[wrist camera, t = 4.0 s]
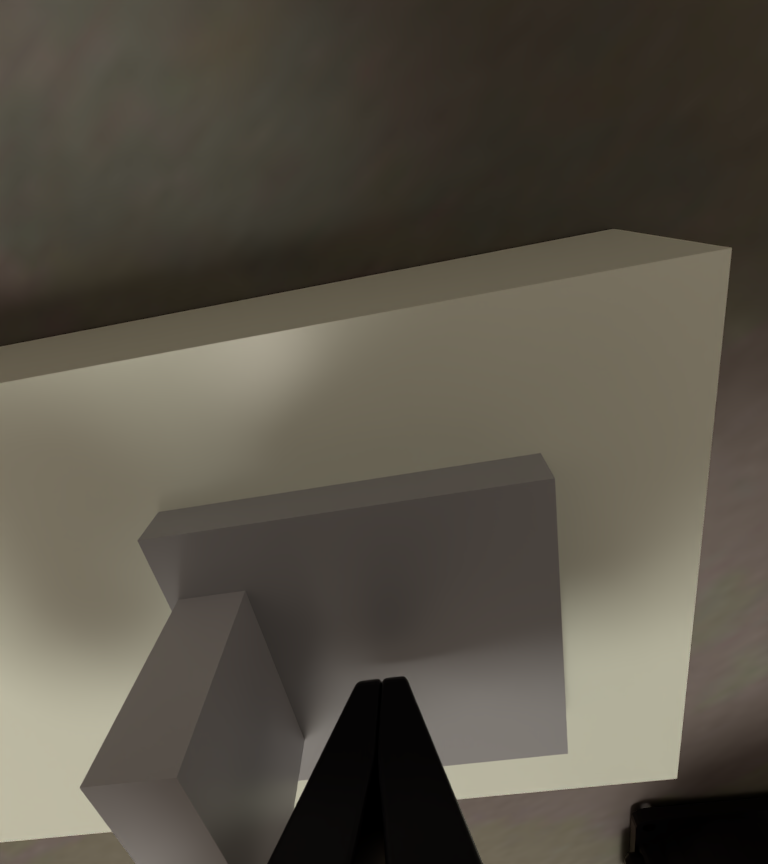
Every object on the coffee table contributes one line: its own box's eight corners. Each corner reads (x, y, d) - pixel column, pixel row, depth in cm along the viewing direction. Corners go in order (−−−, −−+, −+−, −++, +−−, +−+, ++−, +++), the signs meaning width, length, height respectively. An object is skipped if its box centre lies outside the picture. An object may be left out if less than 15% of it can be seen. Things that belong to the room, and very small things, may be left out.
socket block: (613, 228, 10) (732, 247, 7) (610, 641, 15) (677, 778, 12) (-156, 376, 12) (-391, 455, 8) (68, 706, 17) (-19, 844, 13)
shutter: (540, 452, 8) (649, 641, 5) (556, 716, 11) (631, 956, 8) (158, 511, 9) (8, 717, 5) (265, 747, 12) (211, 982, 8)
